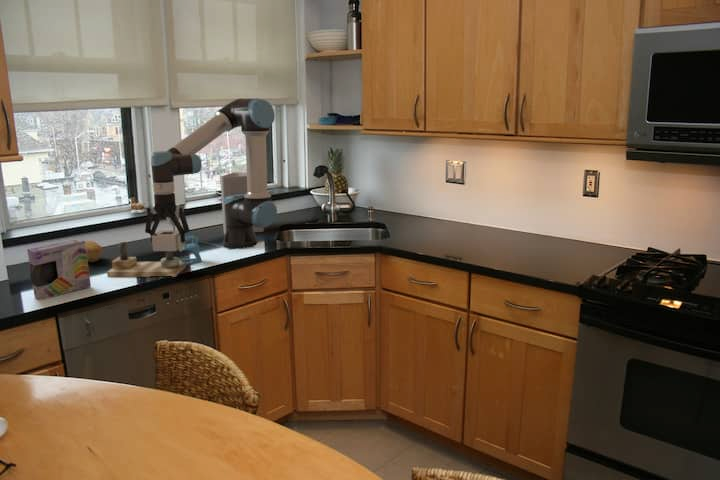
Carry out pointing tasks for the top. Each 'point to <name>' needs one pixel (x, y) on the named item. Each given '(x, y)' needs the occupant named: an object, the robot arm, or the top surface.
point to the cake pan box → (59, 268)
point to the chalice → (176, 216)
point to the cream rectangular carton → (234, 191)
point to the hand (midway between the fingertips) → (168, 250)
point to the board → (144, 265)
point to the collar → (166, 240)
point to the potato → (93, 251)
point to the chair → (193, 247)
